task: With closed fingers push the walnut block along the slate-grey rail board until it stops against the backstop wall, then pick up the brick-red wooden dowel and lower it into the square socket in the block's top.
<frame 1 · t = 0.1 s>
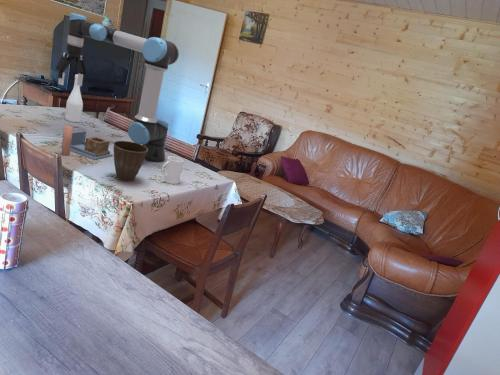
hand: (70, 85, 192), 28 cm above the table, fingers open, 13 cm apart
rail board: (87, 151, 183), on the table
plant pot: (125, 178, 164), on the table
mug: (168, 181, 176), on the table
wine bottle: (72, 120, 230), on the table
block: (96, 146, 180), point 5 cm above the table, slide at 0.0 cm
dowel: (65, 154, 171), on the table
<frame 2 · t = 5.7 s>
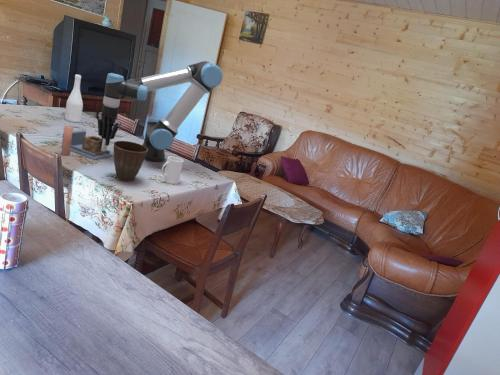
hand: (103, 150, 180), 4 cm above the table, fingers closed
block: (94, 145, 181), point 5 cm above the table, slide at 1.6 cm, touching gripper
everything else where it was.
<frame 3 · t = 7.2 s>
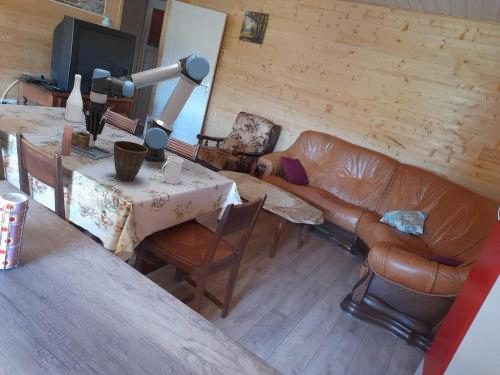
hand: (91, 145, 181), 4 cm above the table, fingers closed
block: (82, 140, 182), point 5 cm above the table, slide at 9.0 cm, touching gripper, rail board
everything else where it was.
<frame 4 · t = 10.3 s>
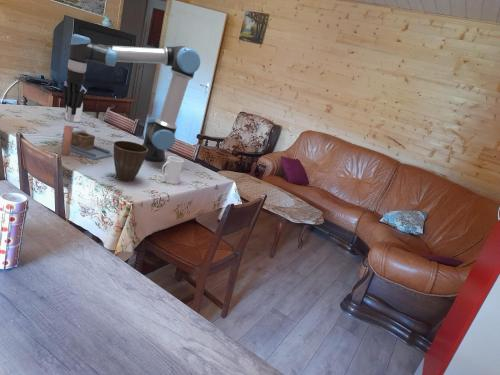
hand: (69, 120, 166), 17 cm above the table, fingers closed
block: (82, 140, 182), point 5 cm above the table, slide at 9.0 cm
everything else where it was.
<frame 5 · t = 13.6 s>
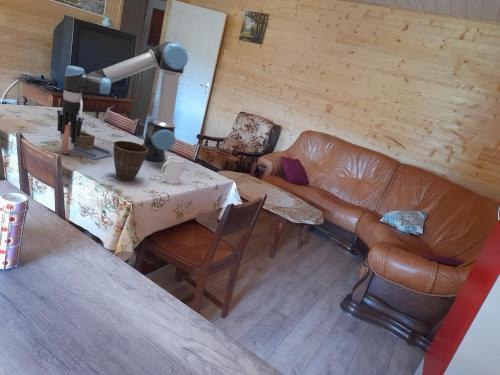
hand: (67, 147, 170), 3 cm above the table, fingers closed on dowel, 3 cm apart
dowel: (66, 152, 171), point 1 cm above the table, touching gripper
everything else where it was.
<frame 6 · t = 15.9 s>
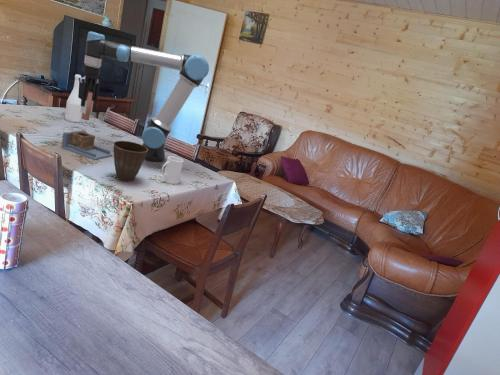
hand: (86, 112, 177), 20 cm above the table, fingers closed on dowel, 3 cm apart
dowel: (85, 119, 178), point 17 cm above the table, touching gripper
everything else where it was.
when the fingers open (10 cm above the table, at t = 18.4 s): dowel drops 2 cm, resting on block.
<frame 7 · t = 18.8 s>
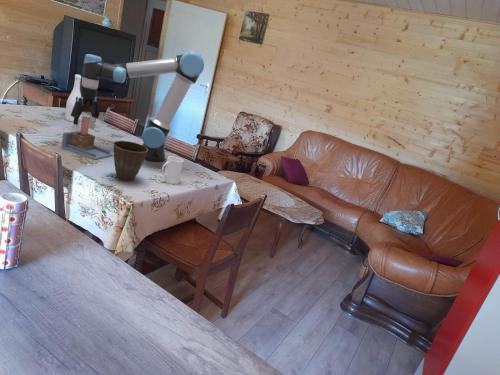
hand: (83, 129, 180), 11 cm above the table, fingers open, 10 cm apart
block: (82, 140, 182), point 5 cm above the table, slide at 9.0 cm, touching dowel
dowel: (82, 143, 182), point 3 cm above the table, touching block
everything else where it was.
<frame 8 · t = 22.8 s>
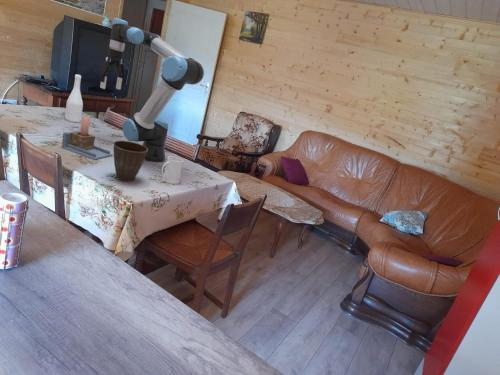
hand: (110, 88, 195), 32 cm above the table, fingers open, 13 cm apart
nothing on the table moved.
at the end: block slide at 9.0 cm; dowel 0.1 cm off-centre on the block, point 3.3 cm above the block's base; dowel tilted 1° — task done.
